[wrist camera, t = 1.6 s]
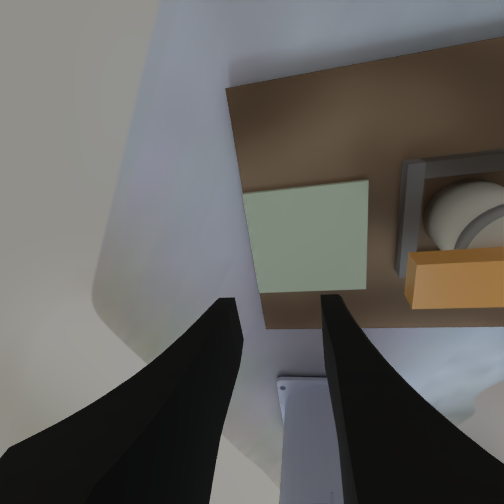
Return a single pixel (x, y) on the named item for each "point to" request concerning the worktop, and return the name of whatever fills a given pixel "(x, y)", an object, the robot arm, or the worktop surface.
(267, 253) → the sage mat
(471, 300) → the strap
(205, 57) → the worktop surface
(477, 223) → the plug
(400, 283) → the board
